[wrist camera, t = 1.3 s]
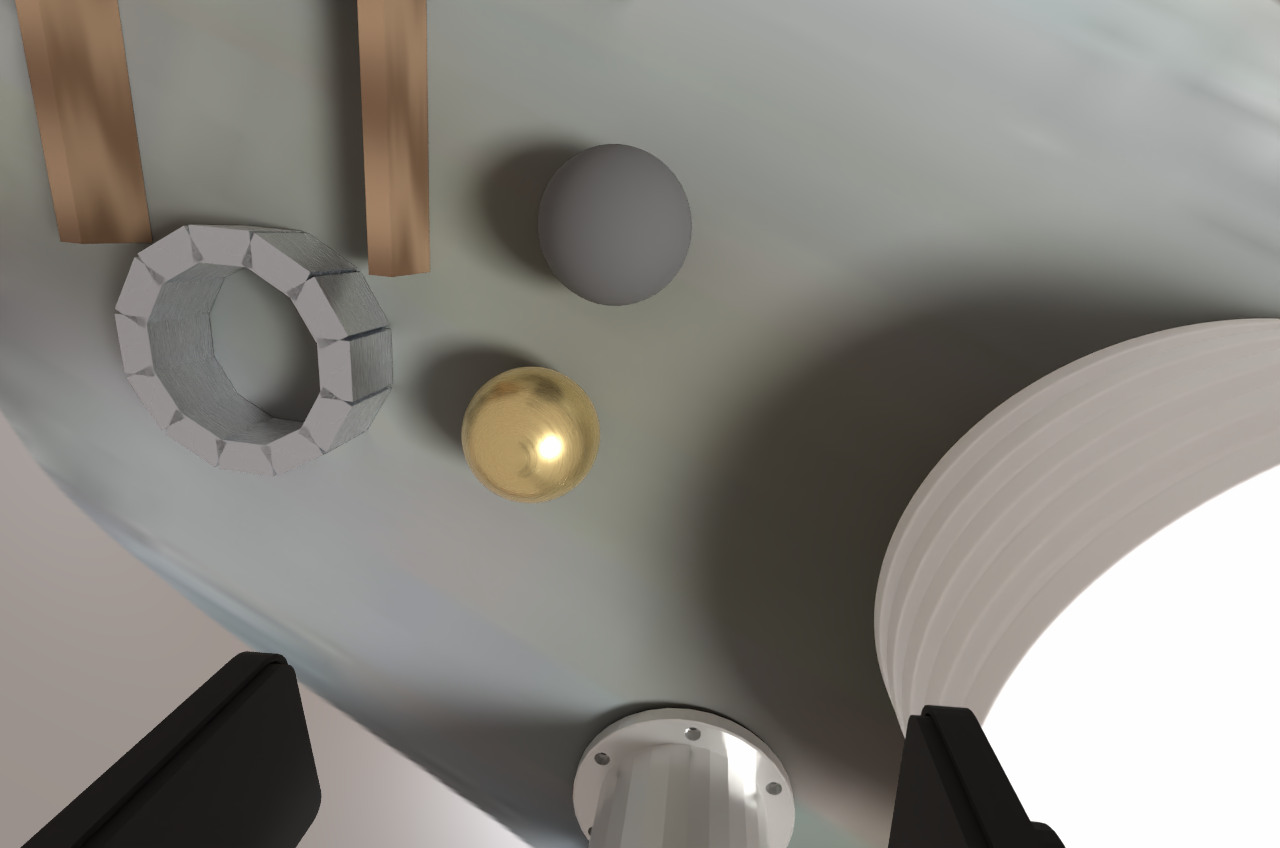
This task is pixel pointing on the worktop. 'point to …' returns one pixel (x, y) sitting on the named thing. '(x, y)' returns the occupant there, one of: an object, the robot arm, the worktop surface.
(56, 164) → the walnut housing
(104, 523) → the worktop surface
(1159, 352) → the plate stack
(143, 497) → the worktop surface
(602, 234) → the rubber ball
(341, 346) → the steel race
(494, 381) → the brass ball
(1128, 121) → the worktop surface
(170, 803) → the robot arm
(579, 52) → the worktop surface
